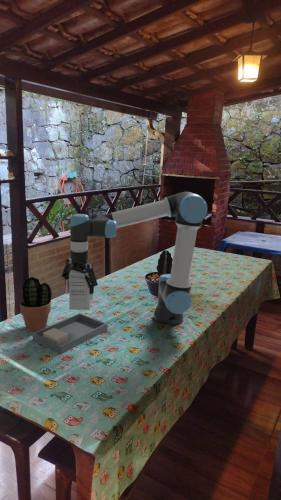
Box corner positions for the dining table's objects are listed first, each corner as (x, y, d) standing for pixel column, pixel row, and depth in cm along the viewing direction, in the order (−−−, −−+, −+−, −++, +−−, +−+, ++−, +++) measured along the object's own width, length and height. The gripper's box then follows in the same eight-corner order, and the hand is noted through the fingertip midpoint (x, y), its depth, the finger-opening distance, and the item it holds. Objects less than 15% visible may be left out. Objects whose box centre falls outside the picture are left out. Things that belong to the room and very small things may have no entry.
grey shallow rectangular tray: (107, 331, 169) (107, 323, 168) (61, 355, 147) (61, 346, 146) (79, 320, 180) (79, 312, 179) (32, 341, 157) (32, 333, 156)
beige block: (68, 342, 156) (68, 334, 155) (57, 348, 151) (57, 339, 150) (54, 336, 161) (54, 327, 160) (43, 341, 156) (43, 332, 155)
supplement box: (71, 301, 169) (71, 266, 165) (91, 301, 170) (91, 267, 166) (68, 309, 160) (68, 273, 156) (90, 310, 161) (90, 273, 157)
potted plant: (35, 338, 161) (33, 284, 154) (14, 329, 167) (11, 277, 161) (57, 327, 172) (56, 276, 166) (37, 319, 179) (35, 270, 173)
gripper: (106, 253, 154) (105, 301, 159) (66, 243, 168) (66, 287, 173) (94, 257, 148) (93, 306, 153) (53, 246, 162) (53, 291, 167)
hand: (79, 296), depth 163 cm, fingers closed on supplement box, 13 cm apart
